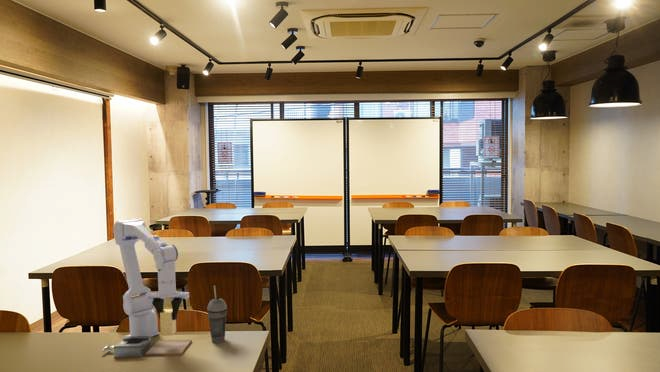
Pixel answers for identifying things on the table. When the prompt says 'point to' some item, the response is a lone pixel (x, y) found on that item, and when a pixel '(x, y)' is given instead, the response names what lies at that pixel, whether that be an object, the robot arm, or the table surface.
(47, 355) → the table surface
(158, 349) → the board
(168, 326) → the peg
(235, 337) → the table surface
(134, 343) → the vise
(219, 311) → the beverage cup
